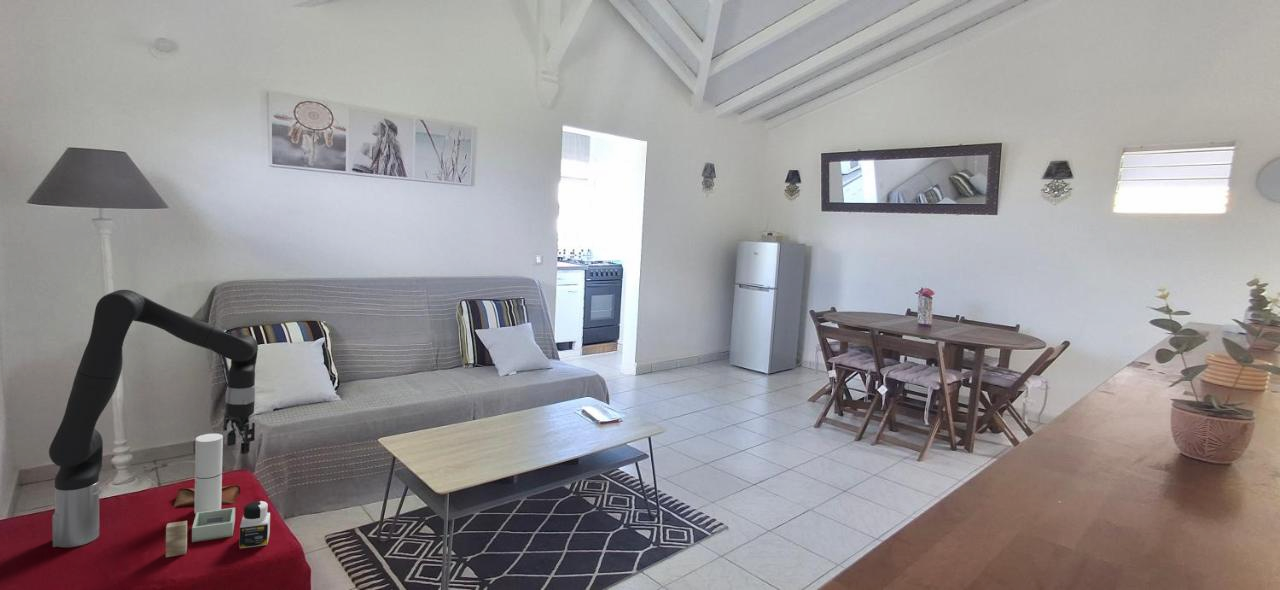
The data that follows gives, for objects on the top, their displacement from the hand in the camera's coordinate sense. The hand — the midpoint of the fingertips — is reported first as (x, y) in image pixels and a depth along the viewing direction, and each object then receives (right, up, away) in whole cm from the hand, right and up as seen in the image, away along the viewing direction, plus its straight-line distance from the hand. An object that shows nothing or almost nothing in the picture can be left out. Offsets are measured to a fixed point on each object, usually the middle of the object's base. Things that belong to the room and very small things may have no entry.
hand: (237, 449), depth 184 cm
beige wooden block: (-8, -26, -15) cm, 31 cm away
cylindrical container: (-16, -23, +9) cm, 29 cm away
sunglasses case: (-21, -22, +15) cm, 34 cm away
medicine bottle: (+9, -27, -5) cm, 29 cm away
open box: (-6, -25, -2) cm, 26 cm away
